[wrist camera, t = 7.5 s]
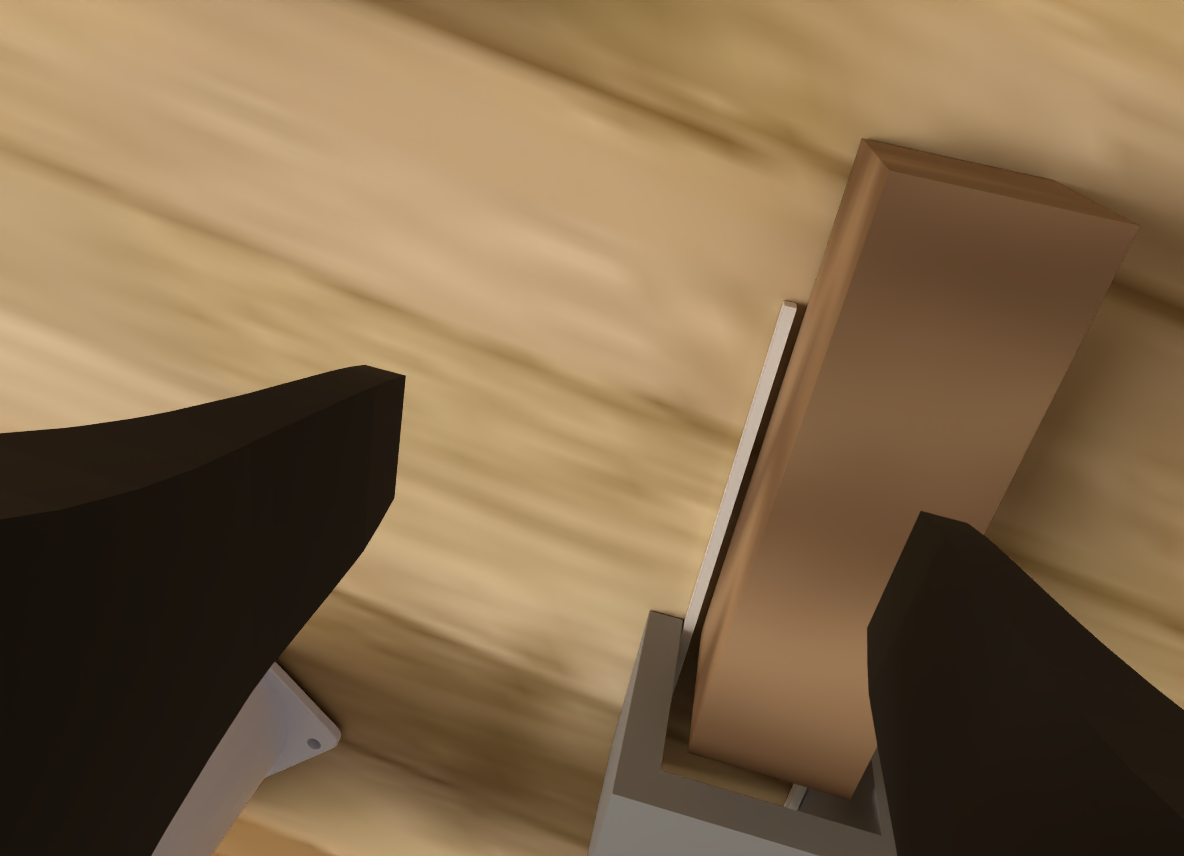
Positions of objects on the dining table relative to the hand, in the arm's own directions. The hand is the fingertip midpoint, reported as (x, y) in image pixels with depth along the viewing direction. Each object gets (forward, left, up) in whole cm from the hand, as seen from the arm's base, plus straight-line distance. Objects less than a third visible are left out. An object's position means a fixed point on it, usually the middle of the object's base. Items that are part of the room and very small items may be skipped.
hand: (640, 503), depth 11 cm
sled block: (+1, -5, -10) cm, 11 cm away
